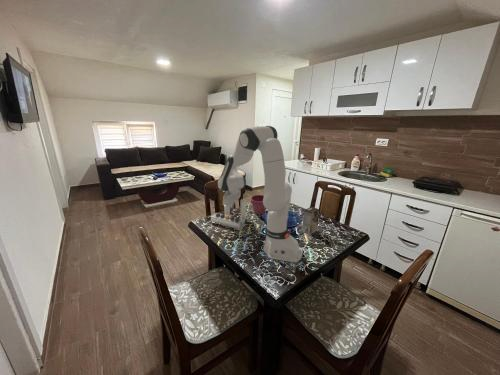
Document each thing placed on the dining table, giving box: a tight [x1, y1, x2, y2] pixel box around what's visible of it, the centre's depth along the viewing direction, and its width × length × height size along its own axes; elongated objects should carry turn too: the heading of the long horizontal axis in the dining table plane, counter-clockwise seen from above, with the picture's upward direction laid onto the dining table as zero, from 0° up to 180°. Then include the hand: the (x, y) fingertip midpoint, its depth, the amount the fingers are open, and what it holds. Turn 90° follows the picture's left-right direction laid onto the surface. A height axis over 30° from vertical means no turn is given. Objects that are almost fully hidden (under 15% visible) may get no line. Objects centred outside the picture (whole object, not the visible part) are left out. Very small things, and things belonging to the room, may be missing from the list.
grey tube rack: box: [210, 212, 246, 231], centre depth 150 cm, size 25×8×7 cm, turn 65°
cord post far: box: [223, 205, 231, 216], centre depth 161 cm, size 4×4×16 cm
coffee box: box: [301, 206, 320, 236], centre depth 140 cm, size 9×6×16 cm
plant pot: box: [250, 194, 267, 216], centre depth 168 cm, size 14×14×13 cm
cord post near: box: [239, 198, 247, 221], centre depth 155 cm, size 4×4×16 cm
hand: (232, 207), depth 154 cm, fingers closed
